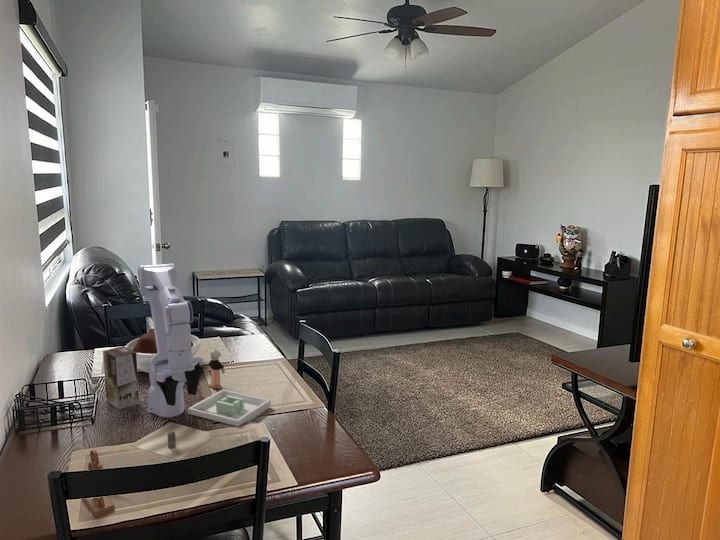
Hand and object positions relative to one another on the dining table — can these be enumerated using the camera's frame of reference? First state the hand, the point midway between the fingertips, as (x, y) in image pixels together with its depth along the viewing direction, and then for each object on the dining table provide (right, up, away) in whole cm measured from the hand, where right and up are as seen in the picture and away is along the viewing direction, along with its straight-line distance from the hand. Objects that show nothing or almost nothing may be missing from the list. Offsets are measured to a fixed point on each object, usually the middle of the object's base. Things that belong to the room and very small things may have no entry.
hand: (181, 399), depth 136 cm
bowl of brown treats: (-23, -2, +50) cm, 55 cm away
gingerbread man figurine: (-8, -15, -27) cm, 32 cm away
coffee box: (-25, -7, +22) cm, 34 cm away
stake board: (-1, -11, -2) cm, 11 cm away
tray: (+8, -8, +17) cm, 20 cm away
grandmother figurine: (-1, -5, +35) cm, 35 cm away
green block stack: (+9, -7, +16) cm, 20 cm away
